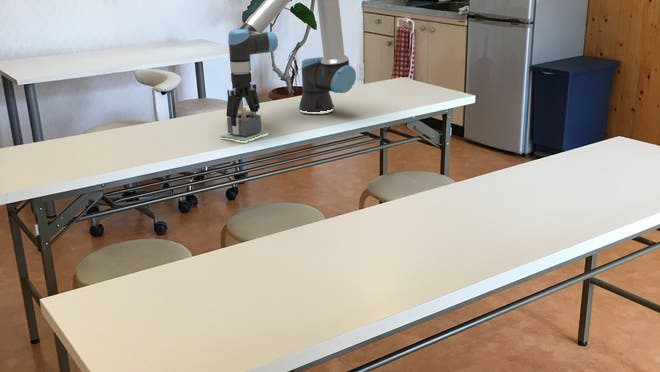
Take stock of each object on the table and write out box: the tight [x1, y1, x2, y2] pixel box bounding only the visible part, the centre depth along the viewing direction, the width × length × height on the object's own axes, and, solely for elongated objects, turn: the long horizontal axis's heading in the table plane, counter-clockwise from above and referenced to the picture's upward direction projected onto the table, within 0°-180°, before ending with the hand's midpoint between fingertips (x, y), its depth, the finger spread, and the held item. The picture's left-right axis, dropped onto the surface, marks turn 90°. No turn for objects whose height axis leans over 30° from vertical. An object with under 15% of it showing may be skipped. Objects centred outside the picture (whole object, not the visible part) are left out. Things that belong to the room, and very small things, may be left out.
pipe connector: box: [238, 99, 250, 114], centre depth 287 cm, size 10×10×10 cm
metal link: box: [226, 113, 263, 136], centre depth 268 cm, size 9×9×6 cm
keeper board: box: [220, 114, 269, 141], centre depth 268 cm, size 14×12×9 cm
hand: (244, 131), depth 269 cm, fingers closed on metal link, 9 cm apart
